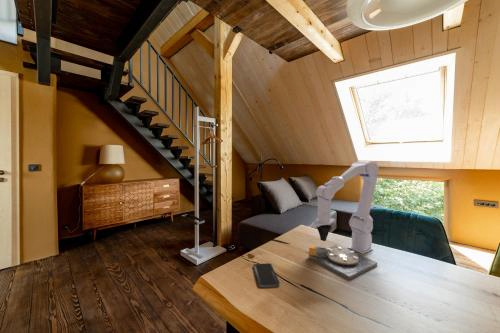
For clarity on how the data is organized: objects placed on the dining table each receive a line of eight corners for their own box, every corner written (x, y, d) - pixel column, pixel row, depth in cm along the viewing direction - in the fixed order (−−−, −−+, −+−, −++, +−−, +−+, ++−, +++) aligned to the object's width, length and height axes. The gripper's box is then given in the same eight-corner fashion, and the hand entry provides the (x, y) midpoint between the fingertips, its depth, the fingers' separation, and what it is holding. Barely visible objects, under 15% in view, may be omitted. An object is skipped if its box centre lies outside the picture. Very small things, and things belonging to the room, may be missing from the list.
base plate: (335, 248, 108) (336, 244, 108) (377, 265, 91) (377, 262, 91) (308, 258, 97) (308, 254, 97) (349, 280, 80) (349, 276, 80)
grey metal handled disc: (308, 247, 103) (308, 241, 103) (354, 252, 99) (354, 245, 99) (309, 260, 91) (309, 253, 91) (362, 267, 86) (362, 259, 86)
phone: (258, 286, 75) (252, 264, 90) (258, 289, 75) (252, 266, 90) (280, 284, 76) (271, 263, 91) (280, 287, 76) (271, 265, 91)
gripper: (326, 207, 107) (326, 234, 108) (306, 211, 99) (305, 240, 100) (339, 211, 101) (338, 239, 102) (319, 215, 93) (318, 246, 94)
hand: (323, 240), depth 100 cm, fingers closed
